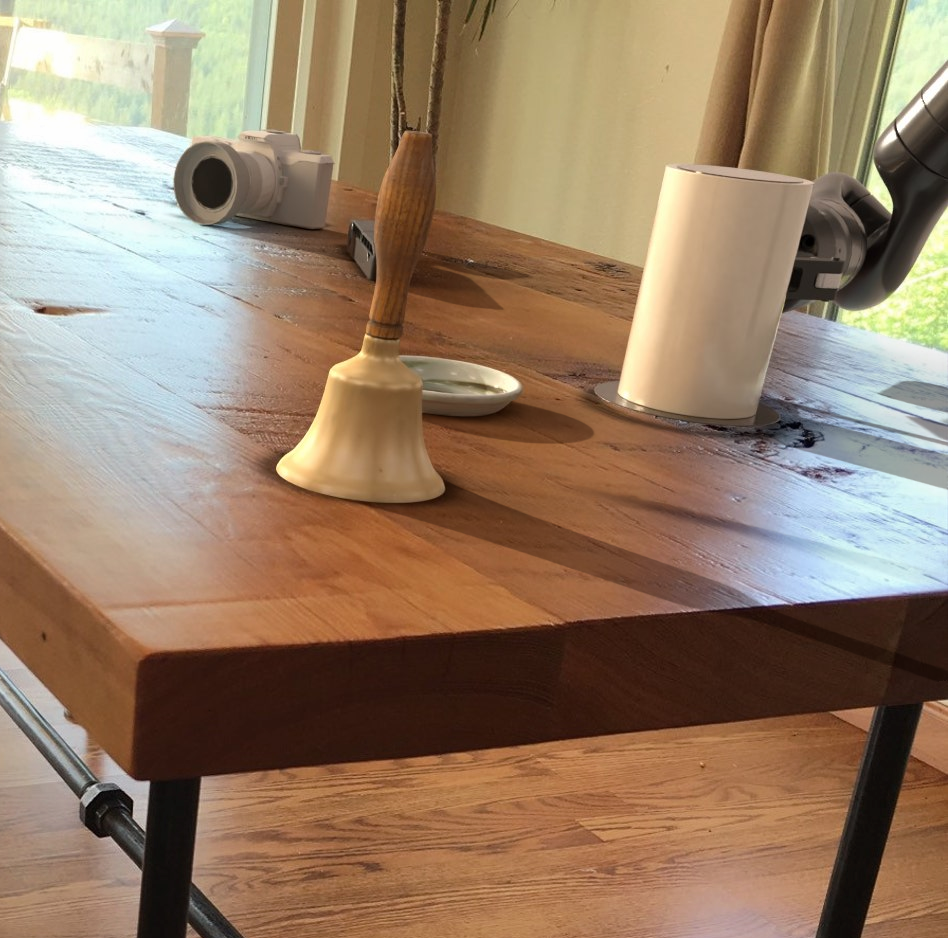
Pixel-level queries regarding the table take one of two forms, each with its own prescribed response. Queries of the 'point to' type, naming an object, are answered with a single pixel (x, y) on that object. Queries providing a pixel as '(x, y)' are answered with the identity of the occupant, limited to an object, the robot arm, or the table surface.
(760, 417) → the disc
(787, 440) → the table surface
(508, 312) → the table surface
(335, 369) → the hand bell
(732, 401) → the tall white cylinder
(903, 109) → the robot arm
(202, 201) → the digital camera
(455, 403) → the saucer
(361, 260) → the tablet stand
